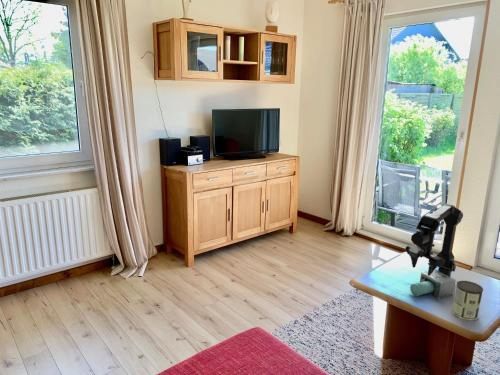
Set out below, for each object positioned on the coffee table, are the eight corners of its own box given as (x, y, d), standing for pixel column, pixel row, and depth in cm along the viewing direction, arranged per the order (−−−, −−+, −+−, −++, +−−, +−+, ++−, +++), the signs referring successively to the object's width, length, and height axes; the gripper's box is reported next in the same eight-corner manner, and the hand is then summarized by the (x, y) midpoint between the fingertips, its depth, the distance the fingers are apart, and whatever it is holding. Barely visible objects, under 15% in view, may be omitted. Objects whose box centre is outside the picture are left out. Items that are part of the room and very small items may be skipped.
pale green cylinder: (428, 287, 189) (429, 277, 187) (437, 293, 183) (439, 282, 182) (409, 292, 184) (411, 281, 182) (418, 298, 178) (420, 287, 177)
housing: (433, 283, 194) (435, 269, 192) (453, 294, 183) (455, 280, 181) (418, 286, 190) (420, 272, 188) (437, 298, 179) (440, 283, 177)
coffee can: (464, 306, 173) (469, 279, 170) (483, 318, 164) (488, 290, 160) (446, 309, 170) (451, 281, 167) (464, 322, 161) (470, 293, 157)
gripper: (399, 235, 181) (394, 265, 184) (430, 250, 164) (424, 282, 168) (416, 234, 185) (411, 262, 189) (447, 247, 169) (441, 279, 172)
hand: (421, 271), depth 179 cm, fingers open, 9 cm apart
